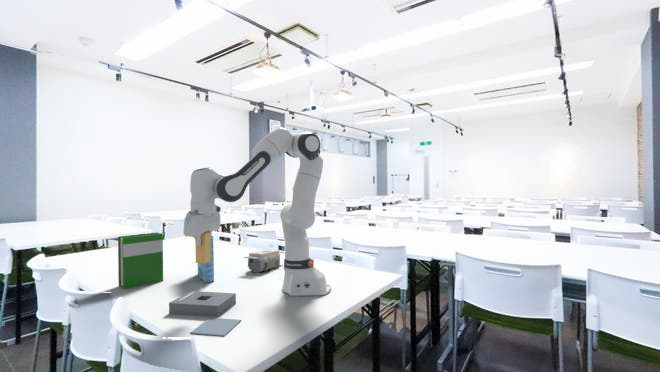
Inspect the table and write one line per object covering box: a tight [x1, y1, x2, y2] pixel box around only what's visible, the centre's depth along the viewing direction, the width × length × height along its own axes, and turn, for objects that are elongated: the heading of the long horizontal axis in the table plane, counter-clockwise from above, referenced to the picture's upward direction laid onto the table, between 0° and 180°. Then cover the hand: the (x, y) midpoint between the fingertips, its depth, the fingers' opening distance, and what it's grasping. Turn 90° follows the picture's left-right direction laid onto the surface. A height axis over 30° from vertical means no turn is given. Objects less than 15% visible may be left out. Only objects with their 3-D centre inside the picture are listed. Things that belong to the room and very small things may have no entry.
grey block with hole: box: [168, 290, 237, 318], centre depth 128 cm, size 20×14×4 cm
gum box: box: [197, 235, 215, 284], centre depth 170 cm, size 19×5×23 cm, turn 31°
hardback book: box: [117, 232, 164, 290], centre depth 161 cm, size 18×7×24 cm, turn 139°
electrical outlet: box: [243, 249, 285, 273], centre depth 188 cm, size 12×28×10 cm, turn 156°
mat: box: [189, 317, 242, 337], centre depth 110 cm, size 12×12×1 cm
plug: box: [194, 231, 211, 264], centre depth 128 cm, size 4×4×12 cm
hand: (203, 244), depth 128 cm, fingers closed on plug, 4 cm apart
